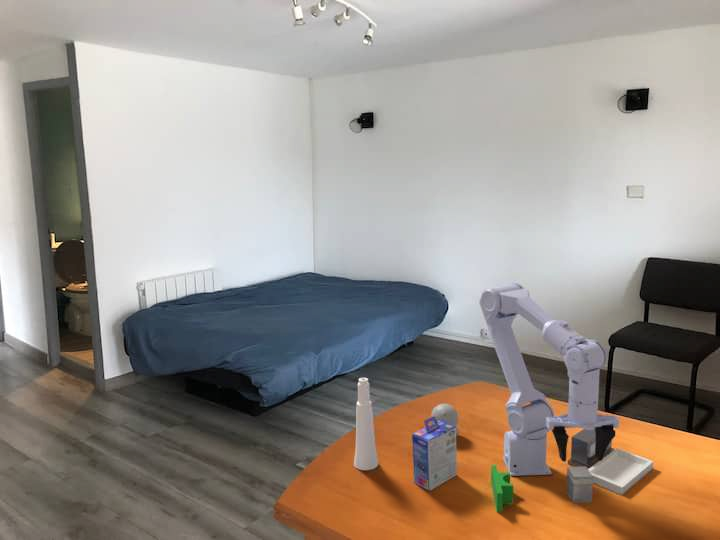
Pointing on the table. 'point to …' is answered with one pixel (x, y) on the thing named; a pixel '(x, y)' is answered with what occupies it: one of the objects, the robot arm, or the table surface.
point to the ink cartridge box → (434, 454)
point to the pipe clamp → (501, 488)
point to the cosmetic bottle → (365, 430)
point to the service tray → (620, 470)
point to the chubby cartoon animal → (446, 415)
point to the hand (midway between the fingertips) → (580, 458)
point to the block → (579, 484)
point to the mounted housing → (585, 449)
